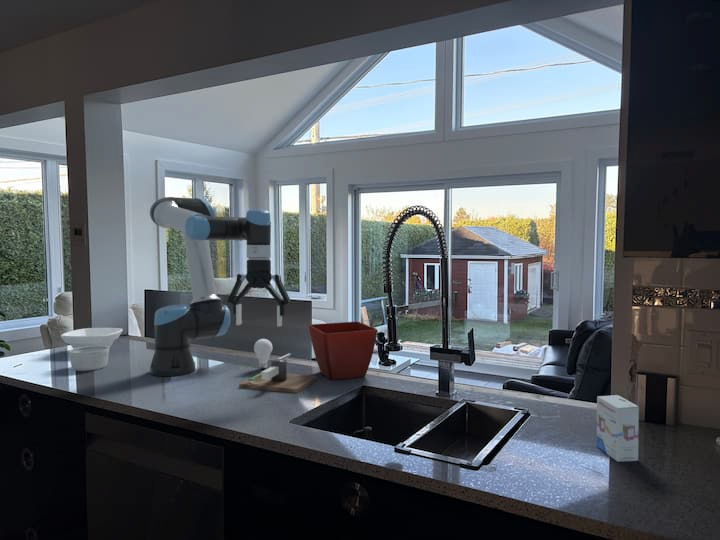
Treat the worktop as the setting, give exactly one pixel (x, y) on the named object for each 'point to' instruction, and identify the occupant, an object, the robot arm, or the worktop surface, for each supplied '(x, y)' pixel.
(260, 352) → the light bulb
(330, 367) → the plant pot
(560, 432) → the worktop surface
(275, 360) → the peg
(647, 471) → the worktop surface
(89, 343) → the bowl
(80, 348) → the ramekin
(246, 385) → the board
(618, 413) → the ink box
